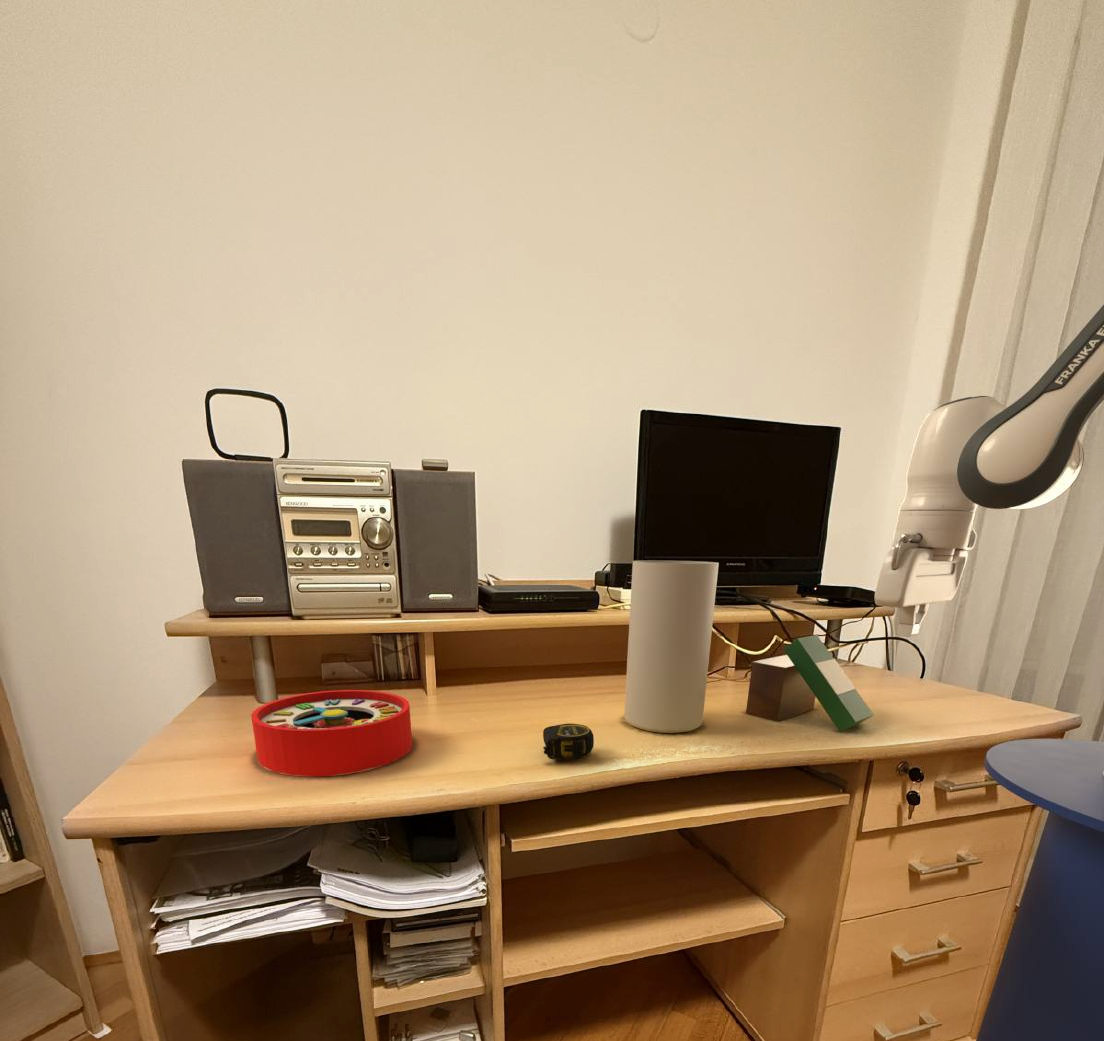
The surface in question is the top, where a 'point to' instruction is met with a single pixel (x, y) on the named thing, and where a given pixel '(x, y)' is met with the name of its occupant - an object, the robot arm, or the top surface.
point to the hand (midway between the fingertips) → (907, 635)
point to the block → (778, 690)
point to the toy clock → (332, 732)
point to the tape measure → (568, 741)
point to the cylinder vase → (669, 644)
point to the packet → (828, 682)
